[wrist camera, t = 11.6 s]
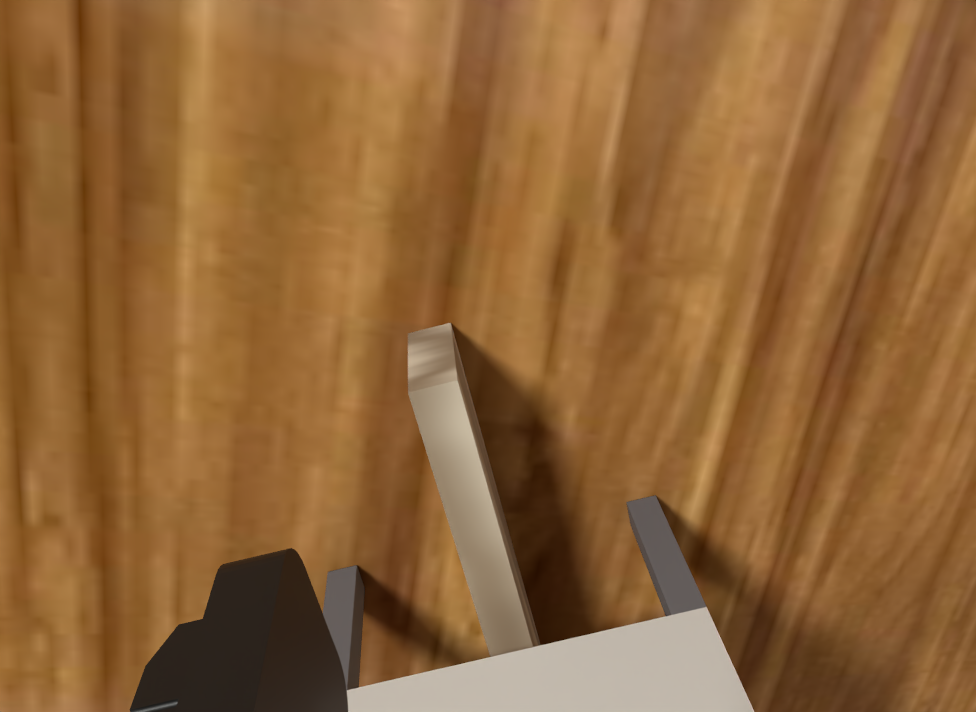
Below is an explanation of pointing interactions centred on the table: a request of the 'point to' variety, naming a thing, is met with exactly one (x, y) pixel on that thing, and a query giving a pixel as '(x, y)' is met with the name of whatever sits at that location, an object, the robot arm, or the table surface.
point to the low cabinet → (567, 653)
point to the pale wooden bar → (468, 489)
